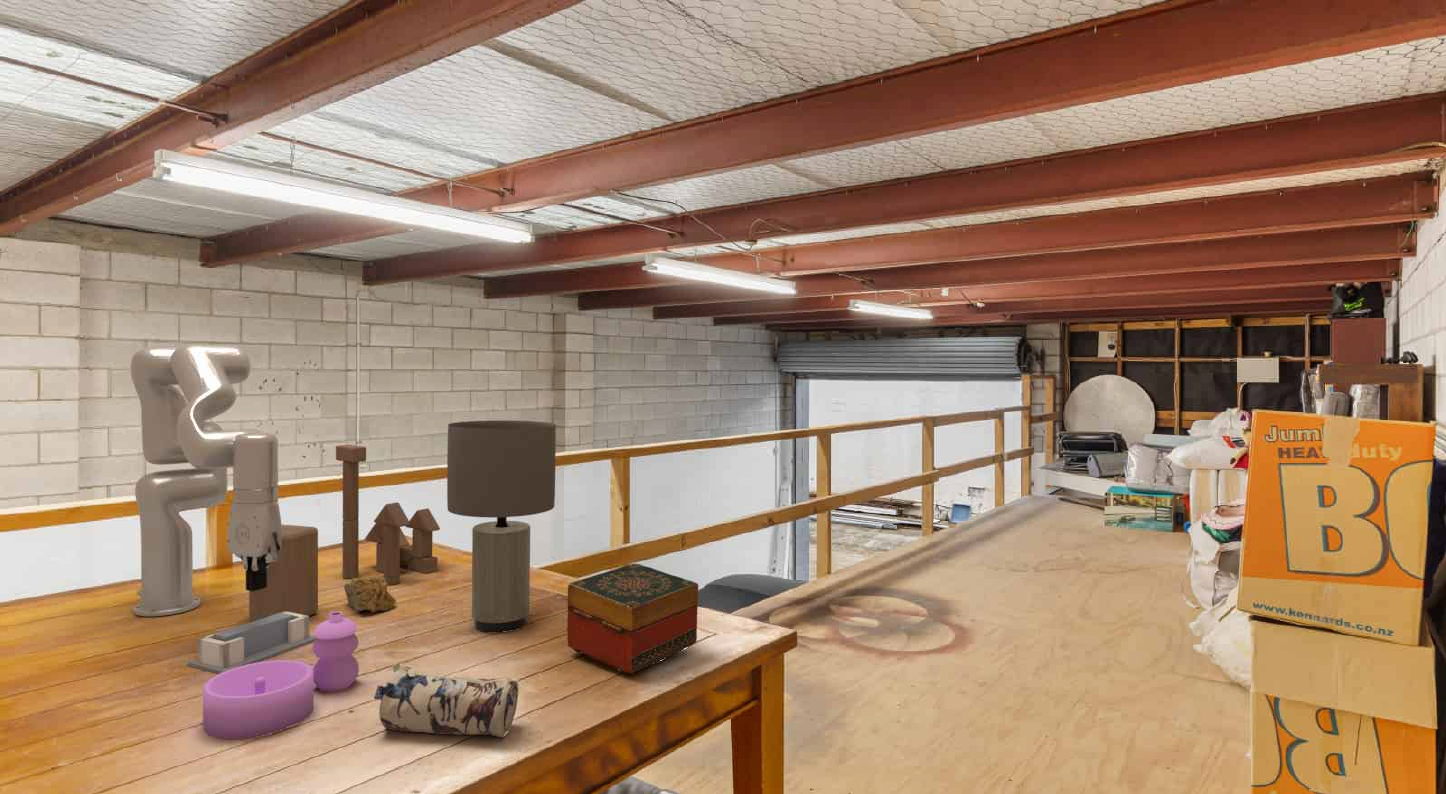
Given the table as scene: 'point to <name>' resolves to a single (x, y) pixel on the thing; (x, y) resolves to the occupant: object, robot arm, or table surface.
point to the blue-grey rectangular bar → (259, 633)
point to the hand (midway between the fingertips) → (256, 588)
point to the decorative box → (632, 616)
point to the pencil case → (447, 703)
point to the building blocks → (383, 528)
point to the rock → (369, 594)
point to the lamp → (500, 509)
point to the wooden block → (290, 577)
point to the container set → (280, 686)
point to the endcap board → (231, 653)
